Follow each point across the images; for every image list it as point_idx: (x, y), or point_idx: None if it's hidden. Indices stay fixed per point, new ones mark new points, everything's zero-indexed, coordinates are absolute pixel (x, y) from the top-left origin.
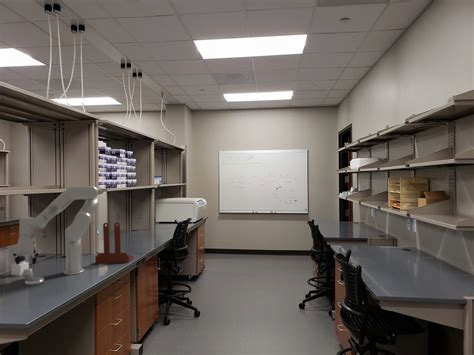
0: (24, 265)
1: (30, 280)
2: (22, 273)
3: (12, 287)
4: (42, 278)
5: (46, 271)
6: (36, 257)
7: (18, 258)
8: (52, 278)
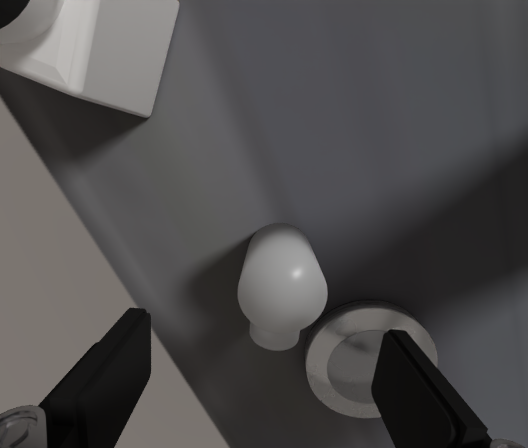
0: (113, 19)
1: (345, 378)
2: (254, 338)
3: (254, 417)
4: (423, 347)
5: (365, 3)
6: (495, 443)
7: (98, 444)
8: (477, 289)
